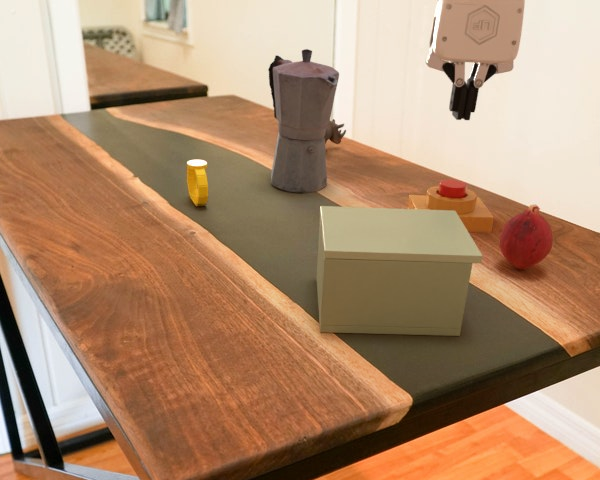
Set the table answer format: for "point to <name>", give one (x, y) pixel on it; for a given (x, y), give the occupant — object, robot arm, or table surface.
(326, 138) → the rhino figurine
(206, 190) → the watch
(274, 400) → the table surface
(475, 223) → the button block
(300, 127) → the moka pot
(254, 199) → the table surface
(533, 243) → the onion
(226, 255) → the table surface
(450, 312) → the chest
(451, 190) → the button
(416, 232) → the chest lid
